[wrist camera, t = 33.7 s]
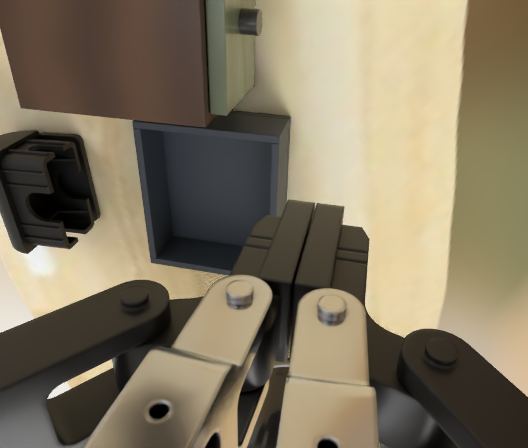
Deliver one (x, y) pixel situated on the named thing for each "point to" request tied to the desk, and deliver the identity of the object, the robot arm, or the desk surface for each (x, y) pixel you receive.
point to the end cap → (45, 189)
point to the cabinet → (110, 58)
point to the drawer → (230, 51)
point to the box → (210, 185)
